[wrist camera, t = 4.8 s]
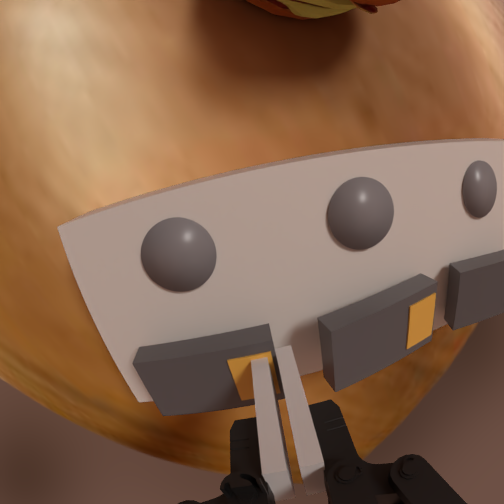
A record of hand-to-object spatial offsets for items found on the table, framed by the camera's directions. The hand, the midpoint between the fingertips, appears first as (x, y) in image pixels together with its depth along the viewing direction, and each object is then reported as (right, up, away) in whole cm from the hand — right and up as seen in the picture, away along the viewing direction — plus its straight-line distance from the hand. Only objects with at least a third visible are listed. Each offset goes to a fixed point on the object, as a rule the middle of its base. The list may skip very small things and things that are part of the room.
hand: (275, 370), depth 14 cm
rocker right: (+14, +4, +1) cm, 15 cm away
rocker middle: (+6, +2, +1) cm, 6 cm away
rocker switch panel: (+5, +6, +5) cm, 9 cm away
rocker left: (-3, 0, +1) cm, 3 cm away
